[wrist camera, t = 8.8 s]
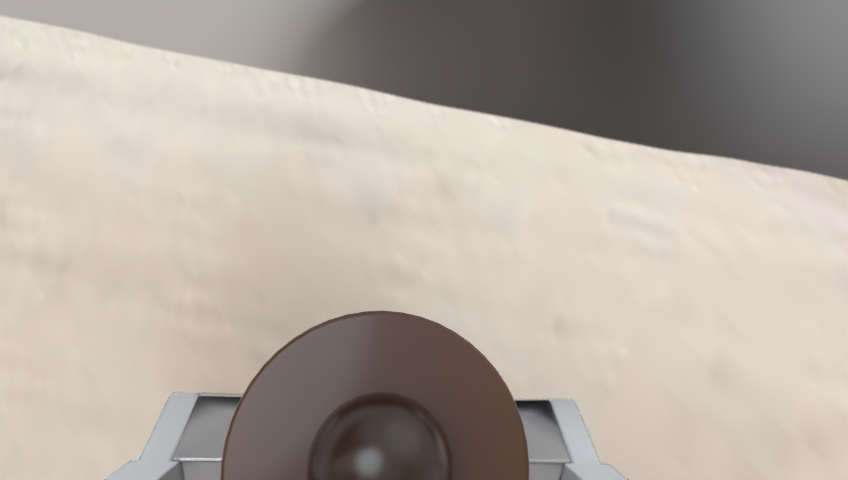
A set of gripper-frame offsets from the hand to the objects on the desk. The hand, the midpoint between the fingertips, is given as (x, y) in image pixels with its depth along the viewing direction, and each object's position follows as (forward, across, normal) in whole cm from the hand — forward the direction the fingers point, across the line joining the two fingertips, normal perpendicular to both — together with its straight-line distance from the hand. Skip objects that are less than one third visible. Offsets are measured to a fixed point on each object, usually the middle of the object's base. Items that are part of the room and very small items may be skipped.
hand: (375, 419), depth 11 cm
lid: (+3, 0, +4) cm, 4 cm away
